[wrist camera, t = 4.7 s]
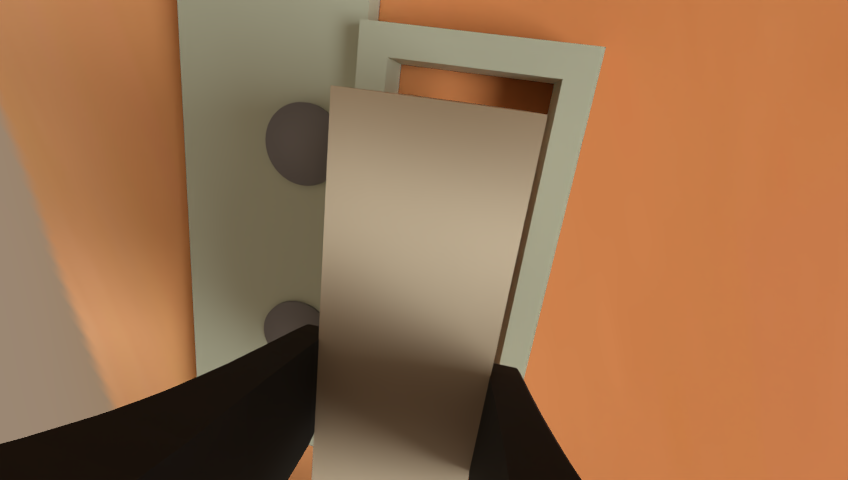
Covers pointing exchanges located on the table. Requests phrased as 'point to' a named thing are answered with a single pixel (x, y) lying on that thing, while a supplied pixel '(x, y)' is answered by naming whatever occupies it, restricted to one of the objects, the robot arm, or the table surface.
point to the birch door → (415, 278)
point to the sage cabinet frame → (308, 145)
